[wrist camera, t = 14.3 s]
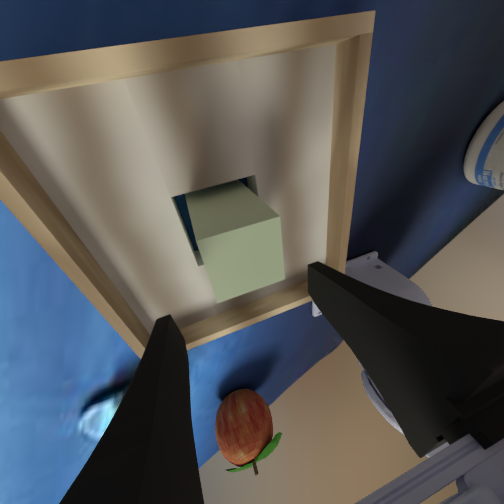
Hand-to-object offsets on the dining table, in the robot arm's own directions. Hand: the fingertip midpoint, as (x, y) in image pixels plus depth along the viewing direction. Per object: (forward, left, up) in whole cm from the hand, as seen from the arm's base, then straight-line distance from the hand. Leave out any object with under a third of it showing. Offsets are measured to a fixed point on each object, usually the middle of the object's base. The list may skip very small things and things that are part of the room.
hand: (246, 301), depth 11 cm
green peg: (-1, -1, -10) cm, 10 cm away
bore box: (-1, -1, -10) cm, 10 cm away
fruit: (+4, +31, -10) cm, 33 cm away
